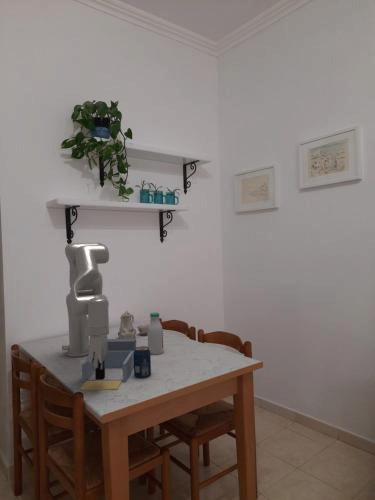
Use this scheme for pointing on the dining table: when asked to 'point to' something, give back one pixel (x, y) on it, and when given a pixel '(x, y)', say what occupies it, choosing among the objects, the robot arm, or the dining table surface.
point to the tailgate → (101, 385)
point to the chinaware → (130, 327)
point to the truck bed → (115, 358)
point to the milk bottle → (155, 334)
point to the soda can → (142, 362)
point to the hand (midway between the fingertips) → (100, 378)
